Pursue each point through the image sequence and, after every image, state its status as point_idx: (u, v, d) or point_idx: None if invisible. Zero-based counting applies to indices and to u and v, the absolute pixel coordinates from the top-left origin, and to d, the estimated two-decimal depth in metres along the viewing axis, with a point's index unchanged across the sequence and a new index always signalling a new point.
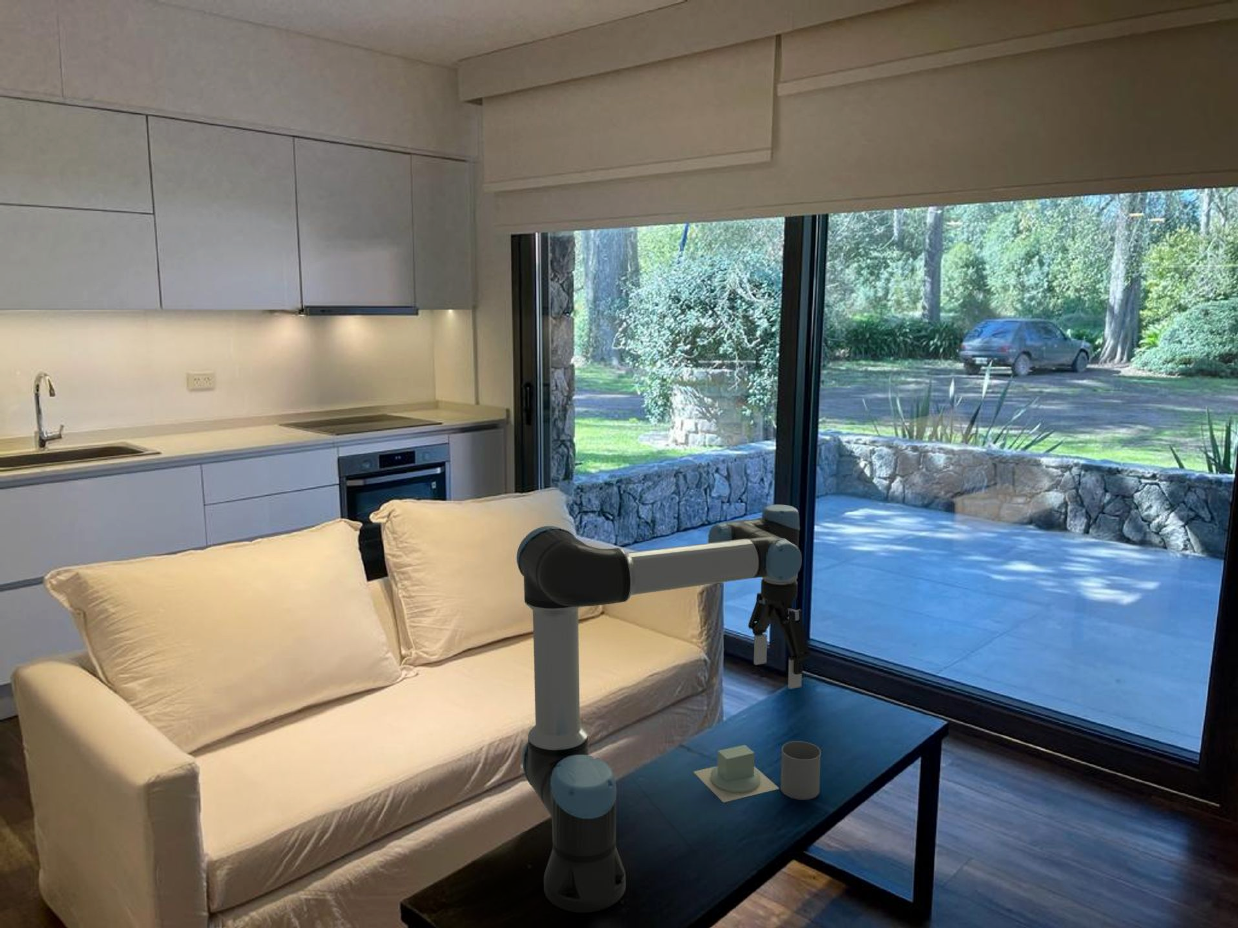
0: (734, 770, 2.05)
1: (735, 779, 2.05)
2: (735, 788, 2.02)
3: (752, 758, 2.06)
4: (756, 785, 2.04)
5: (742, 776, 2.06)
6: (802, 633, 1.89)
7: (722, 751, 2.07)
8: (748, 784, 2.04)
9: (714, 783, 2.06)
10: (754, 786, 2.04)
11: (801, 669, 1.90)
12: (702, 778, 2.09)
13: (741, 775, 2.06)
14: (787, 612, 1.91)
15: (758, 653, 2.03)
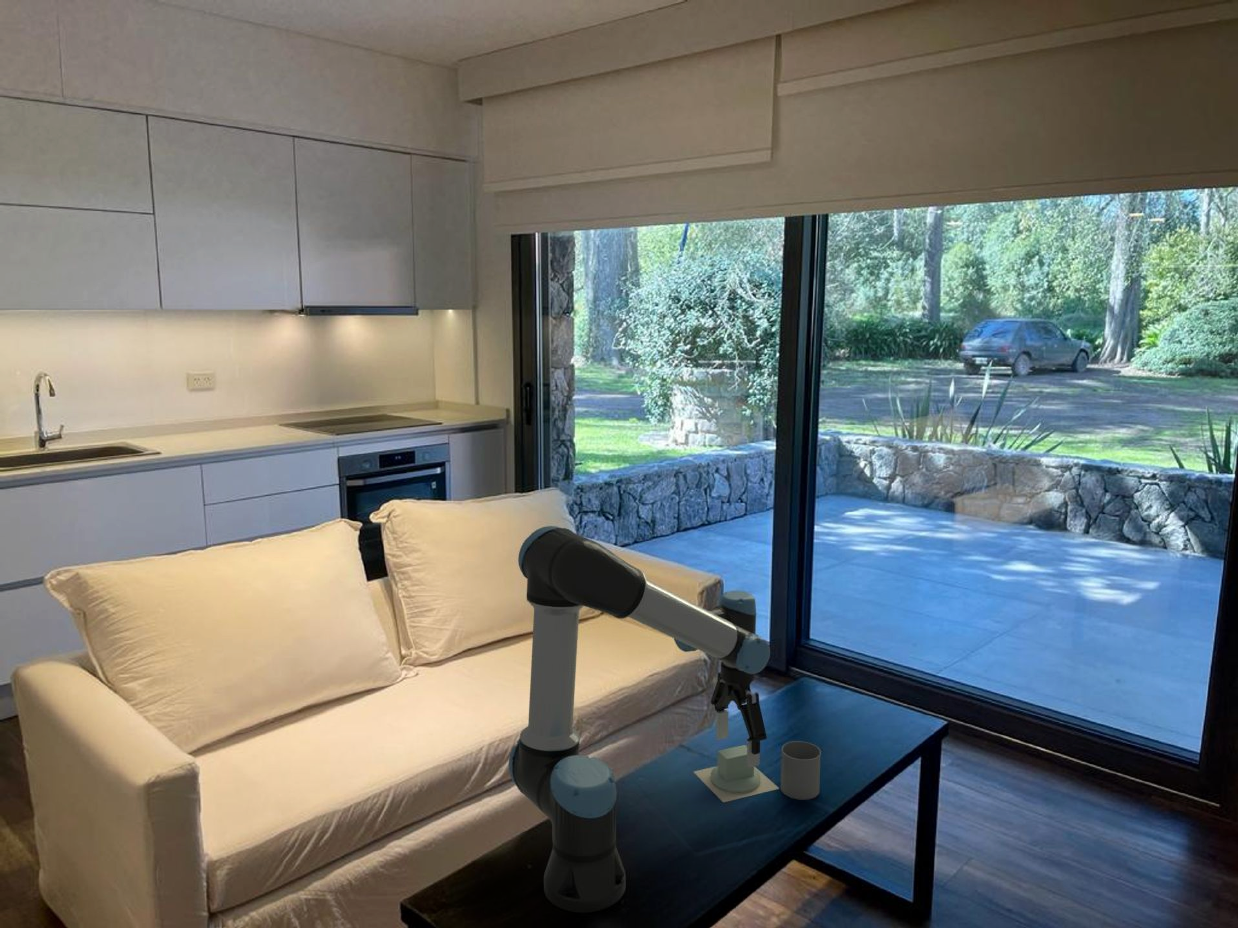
0: (734, 770, 2.05)
1: (735, 779, 2.05)
2: (735, 788, 2.02)
3: None
4: (756, 785, 2.04)
5: (742, 776, 2.06)
6: (759, 715, 1.97)
7: (722, 751, 2.07)
8: (748, 784, 2.04)
9: (714, 783, 2.06)
10: (754, 786, 2.04)
11: (759, 749, 1.99)
12: (702, 778, 2.09)
13: (741, 775, 2.06)
14: (745, 694, 2.00)
15: (720, 729, 2.12)
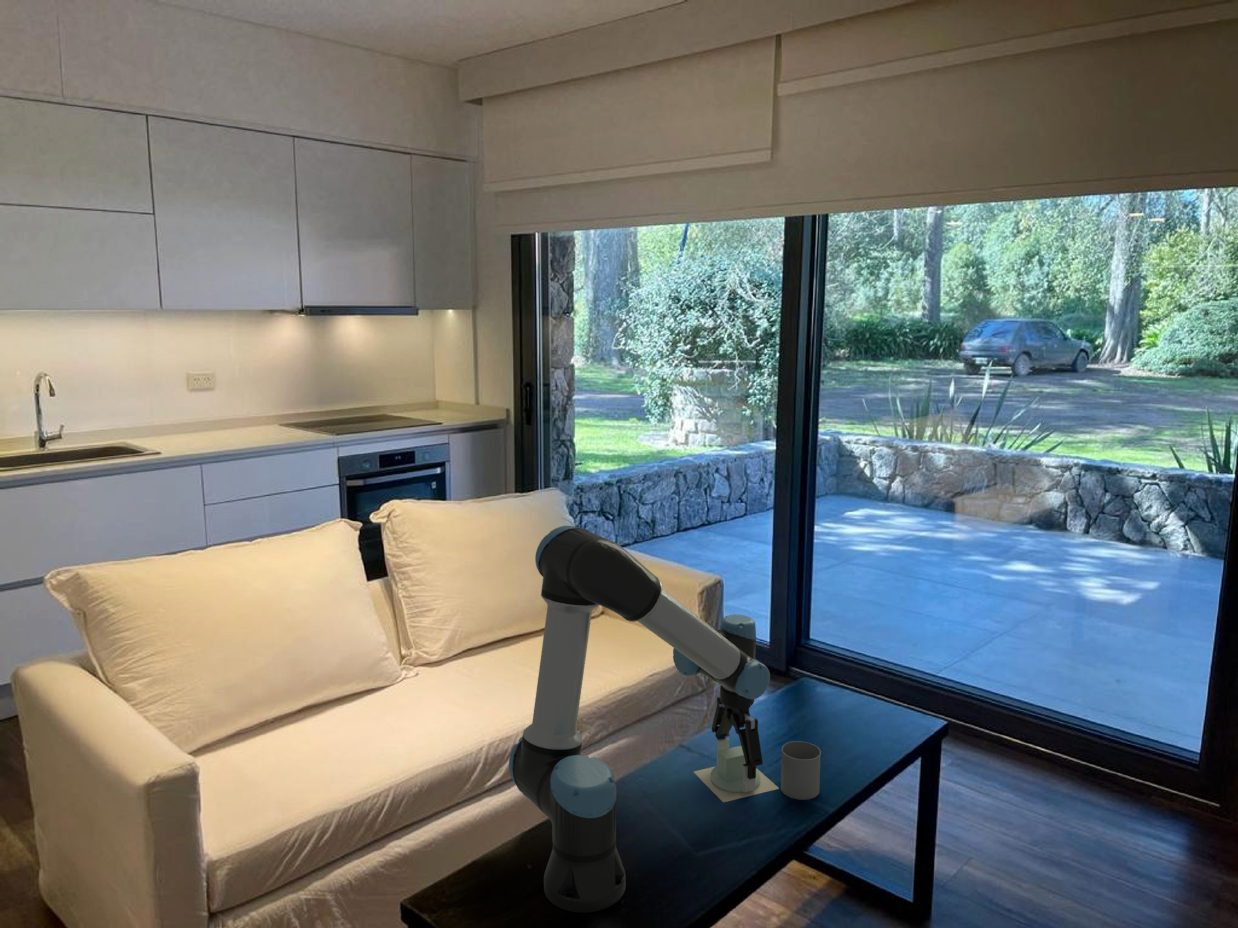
0: (734, 770, 2.05)
1: (735, 779, 2.05)
2: (735, 788, 2.02)
3: None
4: (756, 785, 2.04)
5: (742, 776, 2.06)
6: (756, 741, 1.99)
7: (722, 751, 2.07)
8: None
9: (714, 783, 2.06)
10: None
11: (754, 774, 2.01)
12: (702, 778, 2.09)
13: (741, 775, 2.06)
14: (744, 719, 2.01)
15: None
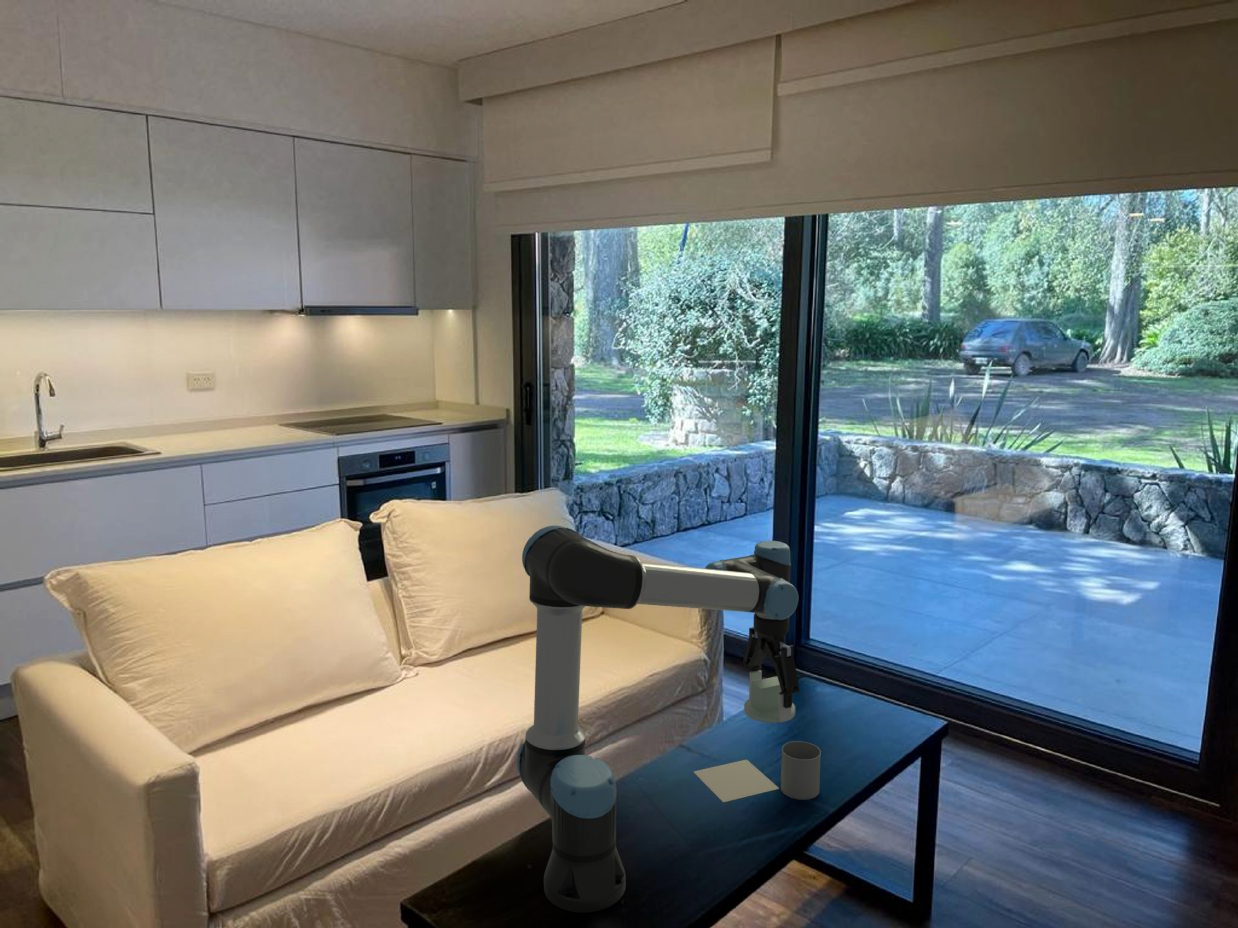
0: (768, 700, 2.00)
1: (770, 710, 2.01)
2: (770, 718, 1.98)
3: None
4: (791, 715, 2.00)
5: (776, 707, 2.01)
6: (793, 668, 1.94)
7: (756, 682, 2.02)
8: None
9: (748, 714, 2.01)
10: None
11: (791, 703, 1.96)
12: (702, 778, 2.09)
13: (776, 706, 2.01)
14: (779, 647, 1.96)
15: None
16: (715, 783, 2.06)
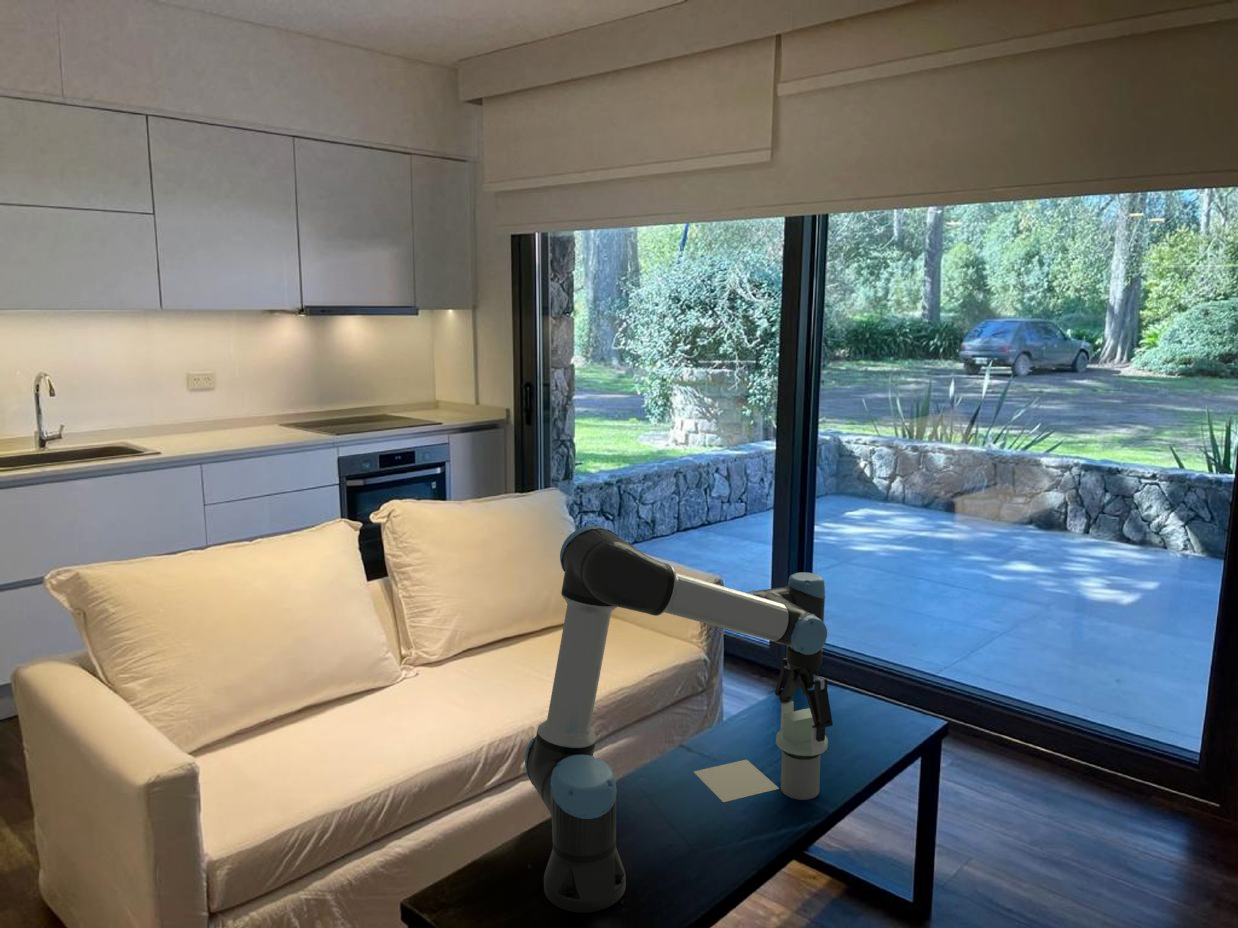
0: (801, 733, 1.99)
1: (802, 742, 1.99)
2: (803, 751, 1.96)
3: None
4: (824, 748, 1.98)
5: (809, 739, 2.00)
6: (826, 702, 1.93)
7: (788, 714, 2.01)
8: None
9: (780, 746, 2.00)
10: None
11: (824, 736, 1.95)
12: (702, 778, 2.09)
13: (808, 738, 2.00)
14: (812, 679, 1.95)
15: None
16: (715, 783, 2.06)
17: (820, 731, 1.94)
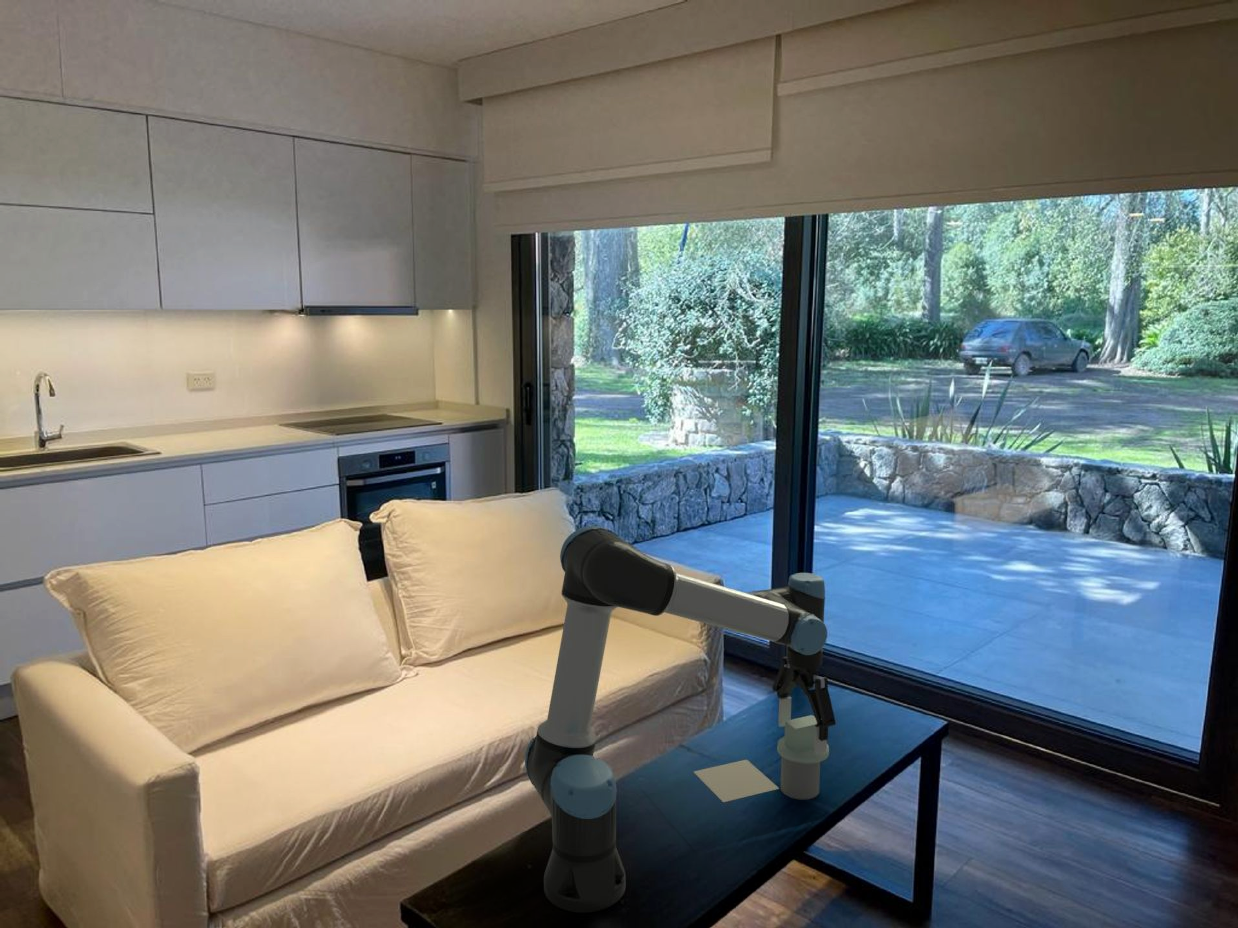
0: (802, 740, 1.99)
1: (804, 750, 2.00)
2: (805, 759, 1.97)
3: None
4: (825, 755, 1.98)
5: (810, 746, 2.00)
6: (828, 700, 1.92)
7: (789, 721, 2.01)
8: (818, 754, 1.98)
9: (782, 754, 2.00)
10: (824, 756, 1.98)
11: (826, 735, 1.94)
12: (702, 778, 2.09)
13: (809, 746, 2.00)
14: (813, 679, 1.95)
15: (782, 715, 2.07)
16: (715, 783, 2.06)
17: (823, 730, 1.93)
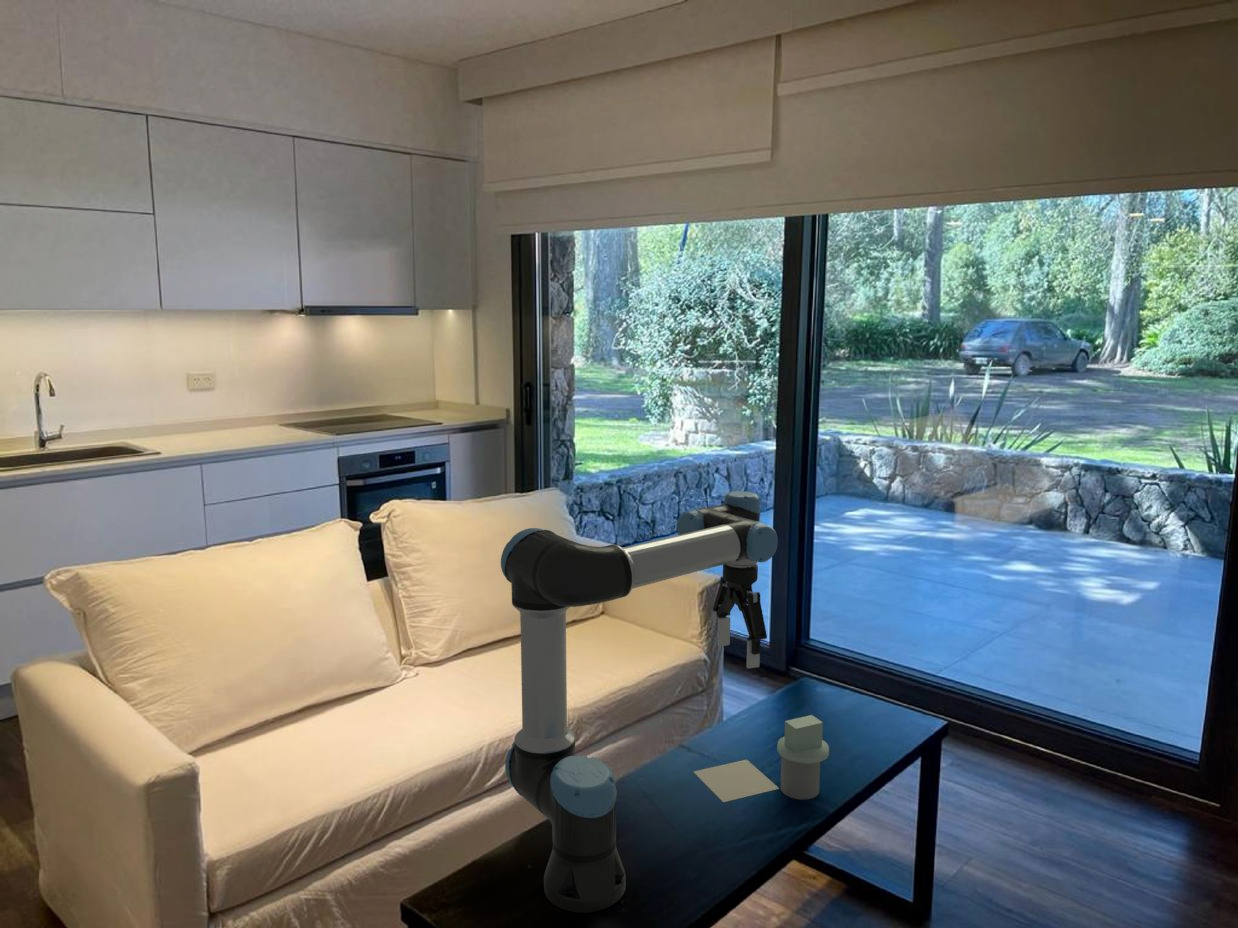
0: (802, 740, 1.99)
1: (804, 750, 2.00)
2: (805, 759, 1.97)
3: (821, 728, 2.01)
4: (826, 755, 1.99)
5: (810, 746, 2.00)
6: (760, 615, 1.96)
7: (789, 721, 2.01)
8: (818, 754, 1.98)
9: (782, 754, 2.00)
10: (824, 756, 1.98)
11: (759, 649, 1.97)
12: (702, 778, 2.09)
13: (809, 745, 2.00)
14: (746, 594, 1.98)
15: (721, 635, 2.10)
16: (715, 783, 2.06)
17: (755, 644, 1.96)
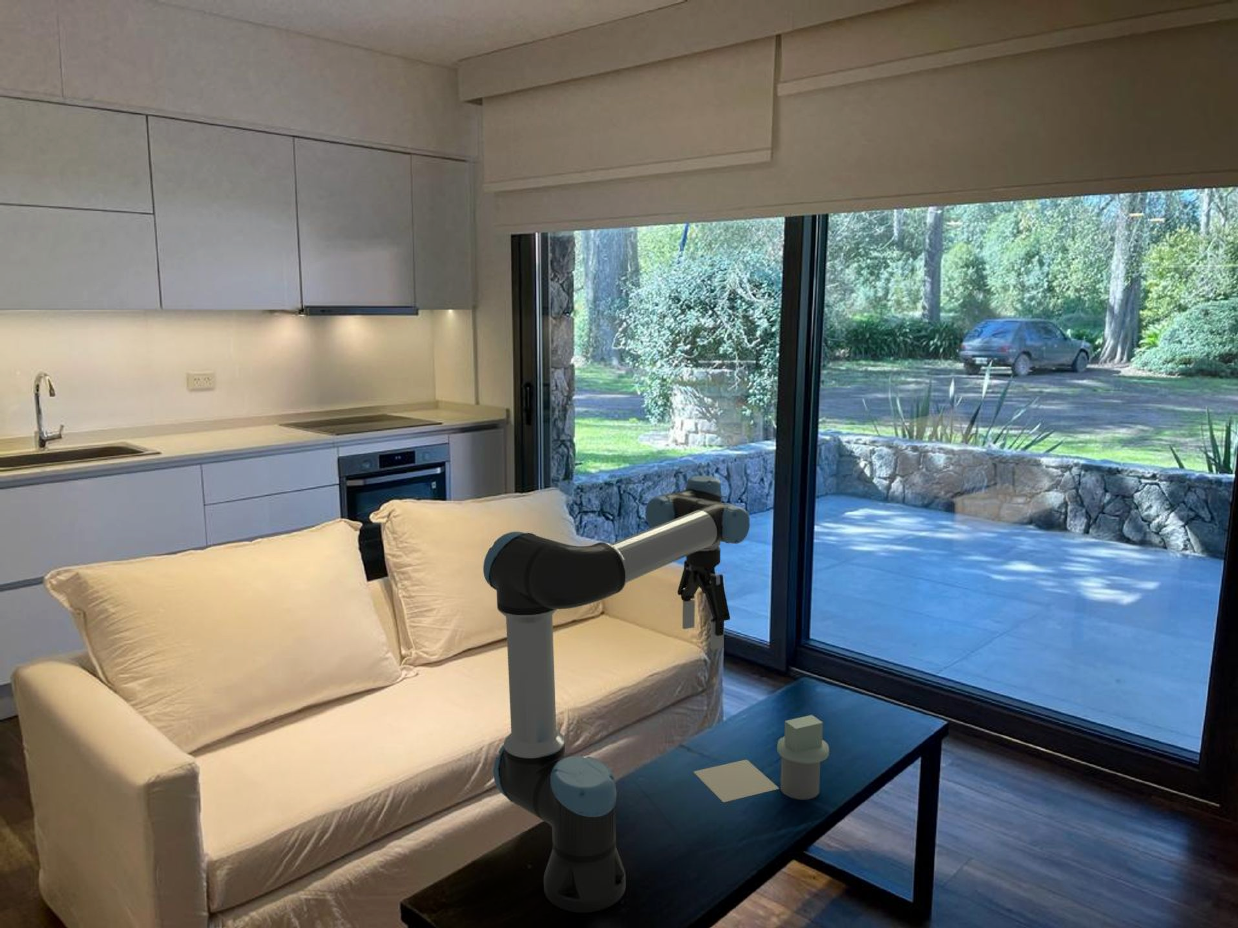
0: (802, 740, 1.99)
1: (804, 750, 2.00)
2: (805, 759, 1.97)
3: (821, 728, 2.01)
4: (825, 755, 1.98)
5: (810, 746, 2.00)
6: (723, 596, 2.00)
7: (789, 721, 2.01)
8: (818, 754, 1.98)
9: (782, 754, 2.00)
10: (824, 756, 1.98)
11: (722, 631, 2.01)
12: (702, 778, 2.09)
13: (809, 745, 2.00)
14: (709, 577, 2.02)
15: (686, 618, 2.14)
16: (715, 783, 2.06)
17: (718, 625, 2.00)
